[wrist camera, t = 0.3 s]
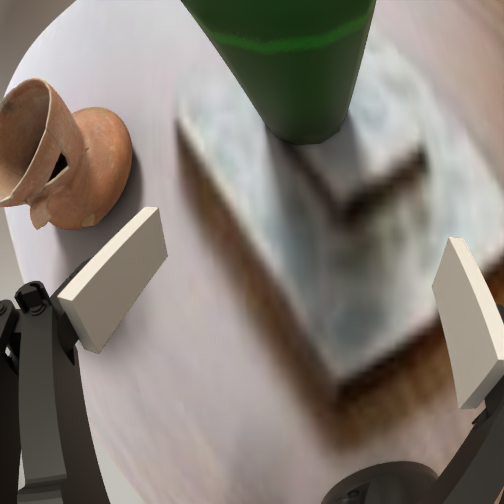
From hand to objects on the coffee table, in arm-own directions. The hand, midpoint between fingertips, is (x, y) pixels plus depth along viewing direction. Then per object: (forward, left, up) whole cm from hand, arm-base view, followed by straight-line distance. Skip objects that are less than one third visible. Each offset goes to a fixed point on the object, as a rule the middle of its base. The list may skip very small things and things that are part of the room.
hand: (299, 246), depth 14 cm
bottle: (+14, +1, -16) cm, 21 cm away
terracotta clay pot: (+9, +26, -16) cm, 31 cm away
